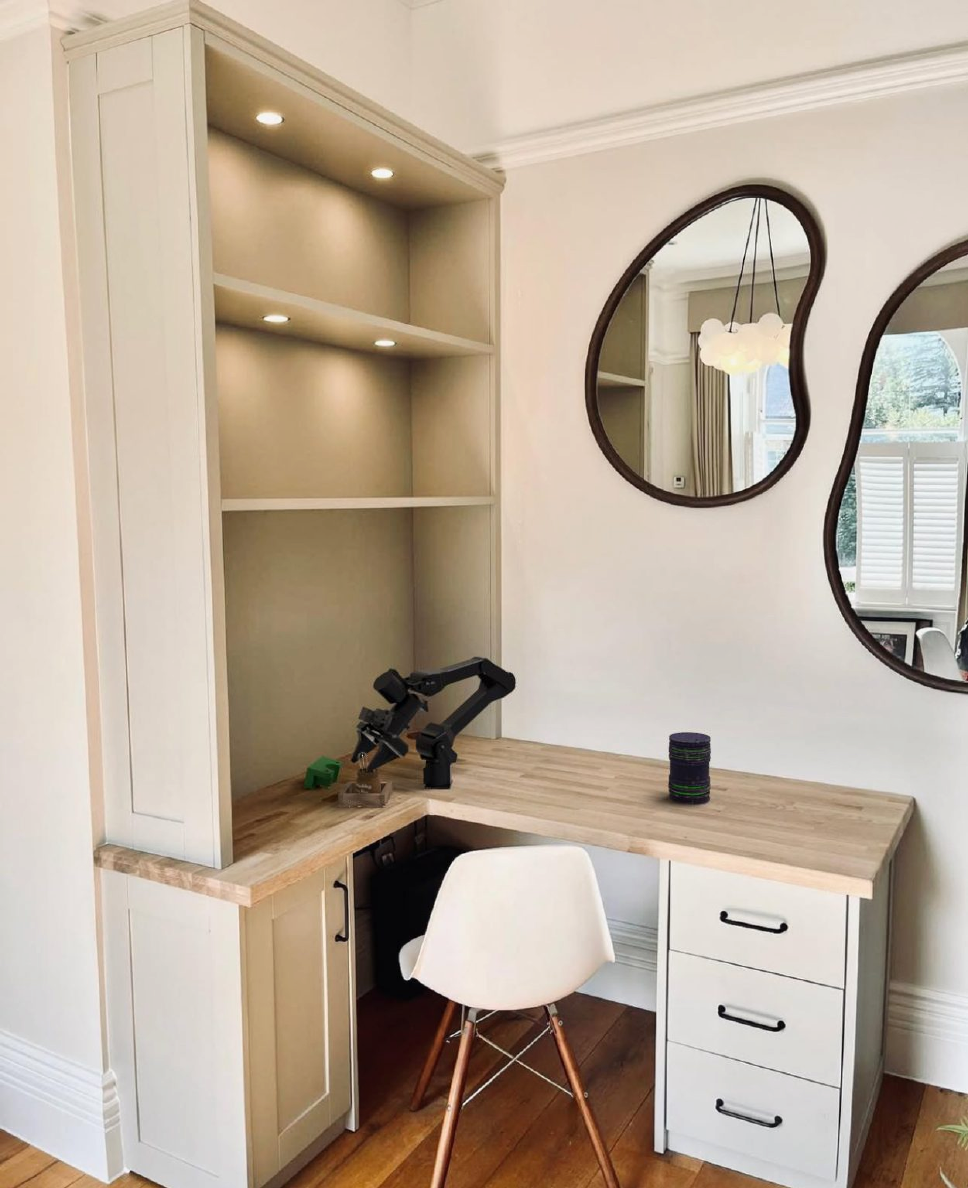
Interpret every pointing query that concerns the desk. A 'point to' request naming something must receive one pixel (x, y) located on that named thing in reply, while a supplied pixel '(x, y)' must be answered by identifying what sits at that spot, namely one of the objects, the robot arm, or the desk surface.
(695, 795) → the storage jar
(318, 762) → the clamp
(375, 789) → the utensil holder
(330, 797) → the desk surface
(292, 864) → the desk surface
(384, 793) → the socket block
